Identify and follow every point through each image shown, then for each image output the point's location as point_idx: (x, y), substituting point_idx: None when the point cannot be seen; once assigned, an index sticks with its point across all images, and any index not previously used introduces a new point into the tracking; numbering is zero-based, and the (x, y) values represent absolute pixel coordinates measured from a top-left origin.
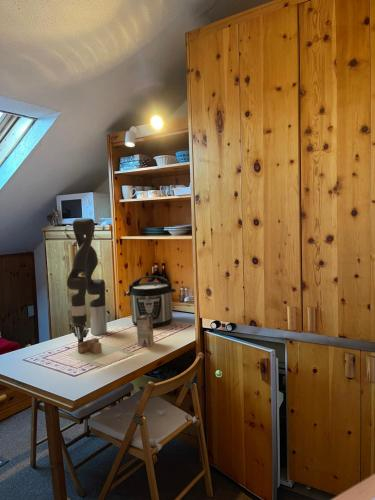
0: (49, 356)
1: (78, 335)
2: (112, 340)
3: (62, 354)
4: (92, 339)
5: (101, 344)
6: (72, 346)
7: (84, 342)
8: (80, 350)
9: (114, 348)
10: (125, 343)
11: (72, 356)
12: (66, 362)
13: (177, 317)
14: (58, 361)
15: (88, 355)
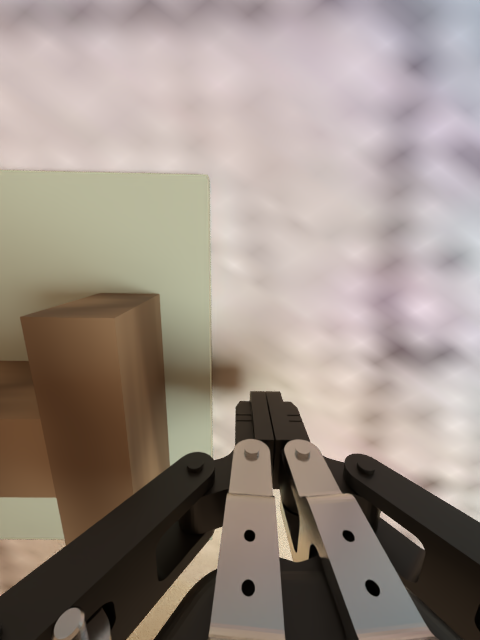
0: (390, 74)
1: (295, 489)
2: None
3: (312, 206)
4: None
5: None
6: (408, 393)
7: (75, 400)
8: (100, 299)
9: (9, 523)
10: None
11: (108, 189)
12: (56, 72)
13: None
14: (157, 32)
15: (8, 305)
